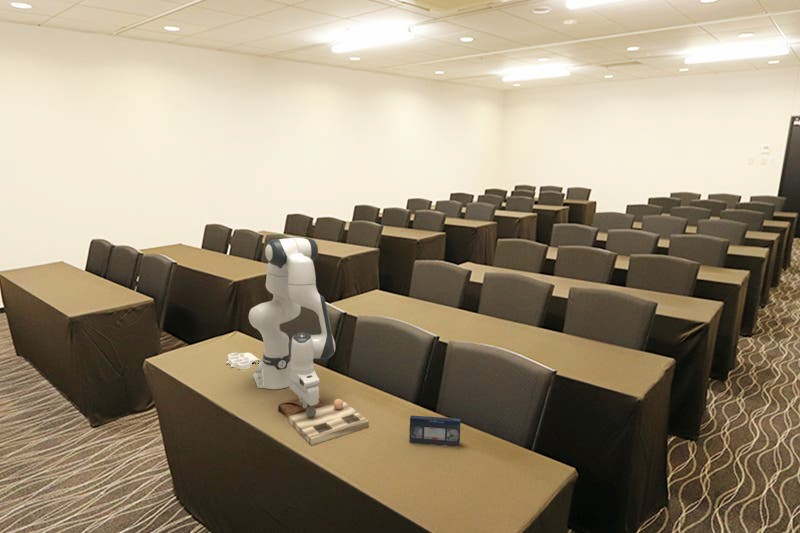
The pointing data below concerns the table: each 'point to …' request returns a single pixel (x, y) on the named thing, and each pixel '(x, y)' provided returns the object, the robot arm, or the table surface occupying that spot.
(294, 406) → the sunglasses case
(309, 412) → the charcoal ball
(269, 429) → the table surface
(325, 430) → the hole board
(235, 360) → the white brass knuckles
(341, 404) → the terracotta ball
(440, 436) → the vhs cassette tape
